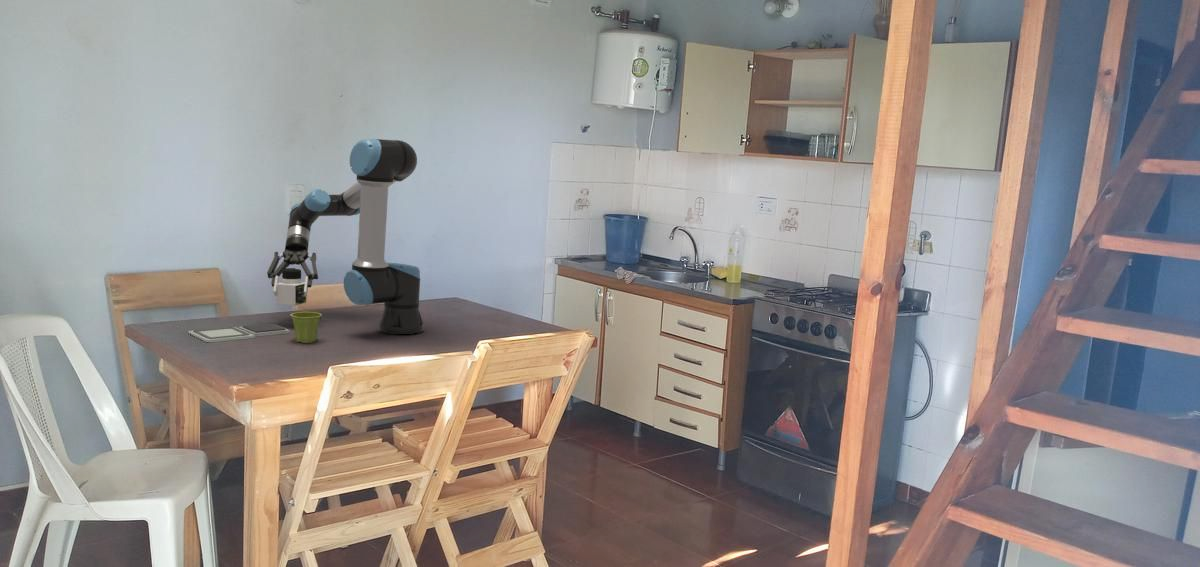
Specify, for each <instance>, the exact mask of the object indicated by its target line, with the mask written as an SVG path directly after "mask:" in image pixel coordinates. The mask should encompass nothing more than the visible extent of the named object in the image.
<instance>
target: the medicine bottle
mask: <svg viewBox="0 0 1200 567" xmlns="http://www.w3.org/2000/svg"><path fill="white" fill-rule="evenodd" d="M281 275H282V276H281V277H282V279H281V280H282V282H279V283H277V296H276V305H279V306H280V305H281V306H291V307H292V306H294V307H297V306H301V305H304V304H306V303H307V297H305V296H304V286H305V281H302V270H301V269H299V268H298V267H297V268H296V267H287V268H286V269H283V270H282V274H281Z"/></svg>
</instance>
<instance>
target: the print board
mask: <svg viewBox="0 0 1200 567" xmlns="http://www.w3.org/2000/svg"><path fill="white" fill-rule="evenodd" d="M188 333H189V334H188ZM187 334H188V335H190V334H191V335H190V336H192V335H193V336H192V337H194V336H195V337H194V338H196V337H197V338H196V339H198V338H199V339H198V340H200V339H201V341H202V340H203V342H204V341H205V343H206V342H209V343H218V342H228V341H229V342H230V341H237V340H245V339H246V340H248V339H255V338H256V337H255V335H253V334H250V333H248V332H246V331H243V330H241V329H239V328H238V327H236V326H228V327H227V326H226V327H216V328H205V329H203V328H202V329H196V330H195V329H194V330H188V331H187Z"/></svg>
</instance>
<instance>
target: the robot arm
mask: <svg viewBox="0 0 1200 567" xmlns="http://www.w3.org/2000/svg"><path fill="white" fill-rule="evenodd" d="M417 165H418V157H417V153H416V151H415V149H414V148H413V147H412V146H411V145H410V144H409V143H407V142H406V141H404V140H397V139H396V140H395V139H381V138H379V139H378V138H363V139H360V140H358V141H357V142H356V144H353V147H352V149H351V152H350V154H349V166H350V167H351V169H350V170H351V171H352V173H353V174H354V175H355V176H356V181H357V182H356V183H354V184H353V185H352V186H350V187H349V188H348V189H346V190H345V191H344V192H341V193H340V194H328V192H327V191H325V190H322V189H321V188H315V189H312V190H311V191H310V192H309V193H308V194H307V195H306V196H305V197H304V199H303V200H302V202H298V203H296V204H293V205H292V207H291V209H290V211H289V215H288V216H289V217H288V218H289V219H288V227H287V234H286V240H285V248H284V251H283V252H280V253H279V251H274V254H273V256H274V257H273V260H272V262H271V264H269V267H268V270H267V272H266V274H267V278H268V279H271V287H273V291H272V292H273V296H274V297H277V283H280V280H279V277H280V276H281V275H282V270H283V269H286V268H289V267H290V266H291V265H292V266H293V265H297V266H299V265H300V267H301V268H302V269H303V271H304V274H305V275H306V276H305V279H304V282H305V286H304V296H305V297H306V298H307V297H308V293H309V292H308V291H309V288H312V284H313V280H318V279H319V274H318V269H317V263H316V262H317V253H316V252H313V253H309V252H308V251H309V243H310V236H311V229H312V228H311V227H312V225H313V223H315V222H316V220H318V219H319V218H320V217H332V216H333V217H335V216H336V217H339V216H341V217H343V216H345V217H351V216H358V215H359V221H358V240H357V241H358V242H357V257H356V259H354V260H353V262H352V264H351V265H352V266H351V269H350V270H348V271H347V272H346V273H345V275H344V276H343V290H344V292H345V295H346V296H347V298H348V300H349V301H350V302H351V303H352V304H354V305H356V306H370V305H376V304H378V305H379V304H384V307H383V311H382V314H381V316H380V319H379V322H378V325H377V329H378V330H377V331H378V332H380V333H382V332H383V334H387V333H389V334H388V335H395V334H411V335H415V334H414V333H418V334H421V333H423V332H424V323H423V319H422V316H421V312H420V292H421V291H420V288H421V287H420V286H421V271H420V268H419V267H418V266H415V265H411V264H405V263H397V262H386V260H385V252H386V250H385V249H386V234H387V219H388V218H387V217H388V200H389V198H388V197H389V187H390V186H391V185H393V184H394V183H396V182H403V181H404V180H406V179H407V178H408V177H410V176H411V175H412V174H413V173H414V171H415V169H416V168H417ZM282 258H283V261H282V262H281V263H280V264H279V262H280V261H281V260H282ZM307 259H309V261H311V266H312V267H311V268H312V271H313V273H312V272H311V270H310V268H309V267H308V265H307V263H306V260H307ZM422 331H423V332H422ZM420 332H421V333H420Z"/></svg>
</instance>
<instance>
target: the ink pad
mask: <svg viewBox="0 0 1200 567" xmlns="http://www.w3.org/2000/svg"><path fill="white" fill-rule="evenodd" d="M237 328H239V329H241V330H243V331H246V332H248V333H250V334H253V335H255V338H256V337H266V336H267V337H268V336H273V335H274V336H275V335H284V334H285V335H286V334H290V333H291V330H290V329H287V328H285V327H283V326H281V325H278V324H275V323H272V322H270V323H260V324H251V325H249V324H248V325H242V326H237Z"/></svg>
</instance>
